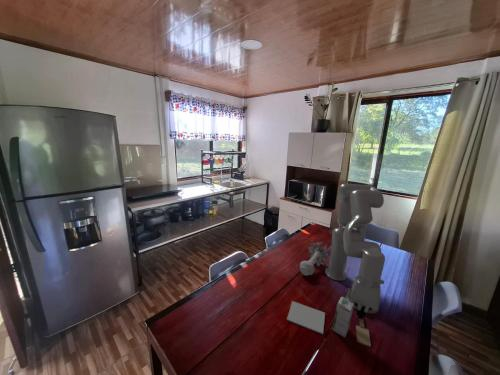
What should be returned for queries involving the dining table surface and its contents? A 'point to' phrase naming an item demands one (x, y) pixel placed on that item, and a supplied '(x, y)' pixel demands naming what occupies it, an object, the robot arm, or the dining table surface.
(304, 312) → the mat
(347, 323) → the syrup box
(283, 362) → the dining table surface
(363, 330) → the turner
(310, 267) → the flower vase
